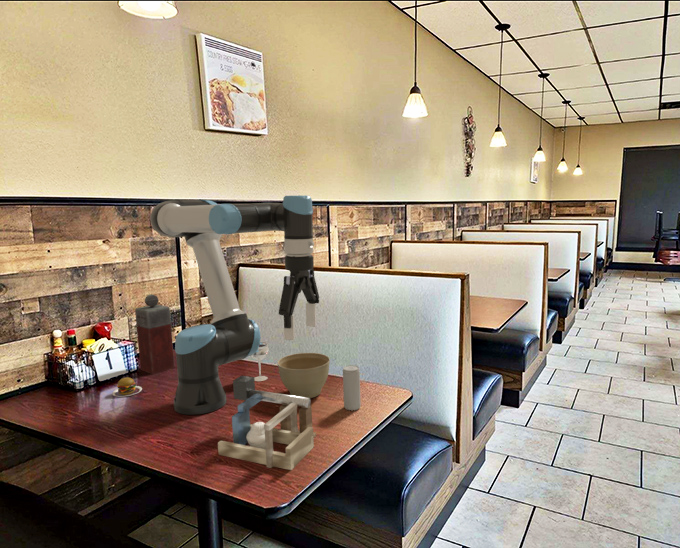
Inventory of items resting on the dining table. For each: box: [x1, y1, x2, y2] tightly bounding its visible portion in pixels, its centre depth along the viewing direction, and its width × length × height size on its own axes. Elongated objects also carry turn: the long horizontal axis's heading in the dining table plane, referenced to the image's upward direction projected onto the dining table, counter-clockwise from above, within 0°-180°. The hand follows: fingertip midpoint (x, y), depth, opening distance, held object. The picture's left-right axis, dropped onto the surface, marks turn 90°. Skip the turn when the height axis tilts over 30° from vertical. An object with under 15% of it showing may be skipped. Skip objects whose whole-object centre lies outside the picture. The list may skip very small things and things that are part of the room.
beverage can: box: [342, 364, 362, 412], centre depth 139 cm, size 5×5×12 cm
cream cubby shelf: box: [279, 404, 317, 438], centre depth 123 cm, size 9×4×8 cm, turn 66°
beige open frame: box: [217, 403, 315, 471], centre depth 116 cm, size 20×13×10 cm, turn 66°
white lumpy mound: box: [246, 421, 266, 449], centre depth 117 cm, size 6×6×7 cm
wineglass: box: [250, 341, 270, 382], centre depth 165 cm, size 7×7×12 cm
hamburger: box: [111, 377, 143, 398], centre depth 157 cm, size 12×12×6 cm
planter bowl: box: [277, 352, 331, 399], centre depth 151 cm, size 16×16×11 cm
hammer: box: [231, 375, 312, 445], centre depth 121 cm, size 21×14×13 cm, turn 66°
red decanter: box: [134, 294, 175, 375], centre depth 179 cm, size 9×11×28 cm
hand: (300, 332), depth 131 cm, fingers open, 13 cm apart
